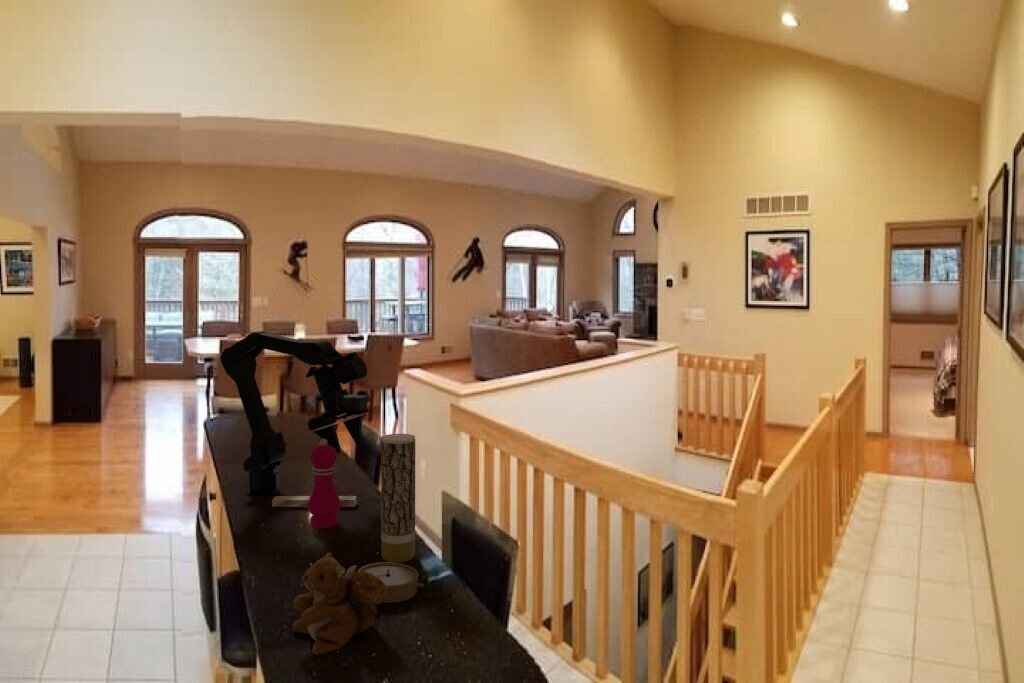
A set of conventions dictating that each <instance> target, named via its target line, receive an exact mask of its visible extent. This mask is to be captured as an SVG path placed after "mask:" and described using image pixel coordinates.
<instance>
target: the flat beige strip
mask: <svg viewBox="0 0 1024 683" xmlns="http://www.w3.org/2000/svg"><path fill="white" fill-rule="evenodd" d="M310 496H311V495H295V496H294V495H290V496H289V495H288V496H287V495H283V496H282V495H278V496H277V495H276V496H274V497H273V498H272V500H271V507H304V508H303V509H306V507H307V509H308V502H309V498H310ZM338 496H339V499H340V507H355V508H356V506H355V505H357V495H338Z"/></svg>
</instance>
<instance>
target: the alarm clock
mask: <svg viewBox="0 0 1024 683" xmlns="http://www.w3.org/2000/svg"><path fill="white" fill-rule="evenodd" d="M358 572H359V573H362V572H367V573H368V572H369V573H372V574H373V575H374V576H375V577H377V578H379V579H380V580H381V581H382V582H383V583H385V585H386V586H387V587H388V588H387V589H385V591H386V593H387V594H386V595H385V596H386V597H385V600H383V602H381V604H382V603H386V604H389V603H390V604H392V603H399V602H404V601H407V600H409V599H411V598H413V597H414V596H415V595H416V594H417V592H418V587H419V588H423V587H424V583H421V582H419V574H420V573H419V572H418V571H417V569H415V568H414V567H413V566H411V565H407V564H405V563H393V562H388V561H385V562H384V561H383V562H382V561H381V562H380V561H379V562H374V563H369V564H366V565H363V566H362V567H360V568H359V567H358V565H352V566H350V567H349V568H348V569H347V571H345V575H343V578H342V579H343V582H344V581H346V580H347V579H349V578H350V577H351V575H352V574H355V573H358Z"/></svg>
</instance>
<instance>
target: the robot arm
mask: <svg viewBox="0 0 1024 683" xmlns="http://www.w3.org/2000/svg"><path fill="white" fill-rule="evenodd" d="M264 350H268V351H271V352H274V353H275V352H276V353H281V354H285V355H289V356H293V357H295V358H296V359H297V360H299V361H301V362H302V363H304V364H307V365H309V366H310V367H309V370H308V372H306V375H305V378H307V379H308V378H312V377H314V381H315V385H316V386H317V390H318V393H319V396H318V397H317V398H316V400H317V402H321V403H322V406H323V410H324V412H322V413H321V414H320V415H317V416H315V417H311V418H309V419H308V421H307V423H306V425H307V427H308V432H311V431H313V432H312V433H313V434H316V435H317V436H318V437H319V438H321V439H326V440H327V442H328V443H327V445H329V446H332V447H333V448H334V449H335V450H336V452H337V455H338V454H341V453H342V450H341V445H340V440H339V436H338V432H337V431H338V428H339V425H340V424H339V423H338V422H337V421H338V420H341V419H342V420H345V421H342V423H343V425H344V426H345V428H346V430H347V431H348V433H349V435H350V436H351V439H352V440H353V441H354V443H355V445H357V446H360V445H362V423H363V421H364V419H365V418H366V417H367V416H368V415H367V413H368V412H370V410H369V408H368V403H369V402H370V401H371V398H370V395H369V393H368V390H367V389H361V390H358V391H357V392H356V393H353V394H351V393H349V390H348V389H347V388H345V389H343V386H342V385H347V384H351V383H352V382H355V381H356V382H357V381H359V380H362V379H364V378H366V376H367V374H368V368H367V367H368V366H367V365H366V363H365V362H364V360H363V359H362V358H361V357H360V356H359V355H358V353H357V352H356V351H355V352H354V351H353V352H350V353H349V352H348V354H346V355H343V354H341V352H339V351H338V350H336V349H335V348H334V346H333V344H332V342H331V341H329V340H316V339H315V340H301V339H296V338H291V337H287V336H283V335H278V334H275V333H274V334H273V333H270V332H266V331H264V330H260V331H252V332H250V333H249V334H247V336H245V337H243V338H242V339H241V340H239V341H237V342H236V343H234V344H232V345H231V346H230V347H226V348H225V349H223V351H222V352H221V355H220V357H219V359H220V360H219V361H220V363H221V365H222V367H223V369H224V371H225V374H226V375H227V376H229V377H230V378H231V380H232V381H234V383H235V385H236V388H237V392H238V395H239V398H240V400H241V401H240V402H241V404H242V407H243V409H244V413H245V416H246V420H247V422H248V424H249V428H250V432H251V439H250V444H249V448H250V455H249V456H248V457H247V458H246V460H245V461H244V462H243V463H242V466H243V469H244V472H247V473H248V476H249V477H248V481H249V482H248V484H249V490H248V491H247V495H274V493H276V492H277V491H278V489H279V488H278V487H280V483H279V481H280V478H279V475H280V473H279V472H278V471H277V467H279V466H281V464H282V461H283V459H284V458H285V455H286V453H287V449H286V447H287V446H288V445H287V444H286V442H285V439H284V435H283V433H282V431H277V432H276V431H275V430H274V429H273V428H272V426H271V423H270V421H269V416H268V413H267V411H266V407H265V404H264V402H263V398H262V395H261V392H260V389H259V386H258V382H257V379H256V376H255V375H256V371H257V367H258V366H257V360H256V358H258V357H259V356H260V355H261V354H262V353H263V351H264ZM317 365H318V366H319V367H317ZM330 365H331V366H330ZM335 423H336V424H335Z"/></svg>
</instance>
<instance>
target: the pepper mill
mask: <svg viewBox="0 0 1024 683" xmlns="http://www.w3.org/2000/svg"><path fill="white" fill-rule="evenodd" d="M327 443H328V442H327V440H326V439H322V438H321V439H320V440H319V445H318V446H315V447H314V448H313V449H312V450H311V452H310V455H309V461H310V463H311V464H312V465H313V466H312V474H313V475H314V484H313V489H312V492H311V494H310V495H309V496H310V498H309V502H308V508H307V510H308V512H309V513H310V514H311V516H310V519H309V520H310V521H309V522H310V523H309V524H310V527H312V528H314V527H315V528H314V529H330V528H333V527H336V526H337V525H338V524H339V514H337V513H338V512H339V511H340V509H341V508H340V499H339V496H340V495H339V494H338V491H337V490H336V486H335V483H334V473H335V472H336V469H335V468H336V466H335V463H336V462H337V460H338V454H337V452H336V450H335V449H334V448H333V447H332V446H329V445H328V444H327Z"/></svg>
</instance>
